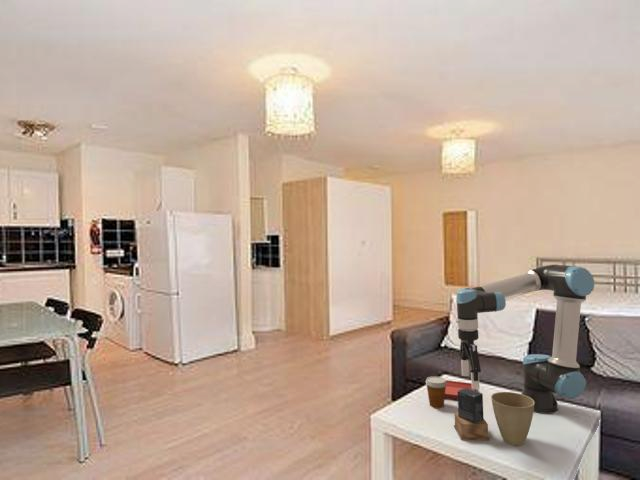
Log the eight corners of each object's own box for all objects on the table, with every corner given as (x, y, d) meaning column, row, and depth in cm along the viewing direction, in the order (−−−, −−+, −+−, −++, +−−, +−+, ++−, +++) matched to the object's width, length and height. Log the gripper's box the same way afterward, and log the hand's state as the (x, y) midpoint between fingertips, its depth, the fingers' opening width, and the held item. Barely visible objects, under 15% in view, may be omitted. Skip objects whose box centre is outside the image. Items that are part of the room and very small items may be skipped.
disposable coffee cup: (424, 408, 183) (424, 382, 183) (427, 400, 192) (426, 375, 192) (446, 411, 180) (445, 384, 180) (448, 402, 189) (447, 377, 189)
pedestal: (480, 426, 164) (480, 412, 164) (489, 440, 154) (488, 424, 154) (454, 426, 165) (453, 412, 165) (461, 440, 155) (460, 424, 155)
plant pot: (545, 446, 148) (544, 403, 148) (512, 454, 144) (510, 410, 144) (514, 428, 162) (513, 389, 162) (483, 434, 158) (482, 394, 158)
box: (483, 419, 158) (483, 393, 158) (475, 424, 155) (474, 396, 154) (466, 412, 164) (465, 387, 164) (457, 416, 161) (457, 390, 161)
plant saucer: (475, 389, 204) (475, 383, 204) (473, 404, 187) (473, 396, 187) (439, 385, 211) (438, 379, 211) (434, 398, 195) (433, 391, 195)
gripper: (450, 322, 172) (452, 371, 172) (467, 337, 147) (469, 394, 147) (468, 321, 171) (470, 370, 171) (488, 336, 146) (491, 394, 147)
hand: (470, 382), depth 159 cm, fingers open, 13 cm apart
